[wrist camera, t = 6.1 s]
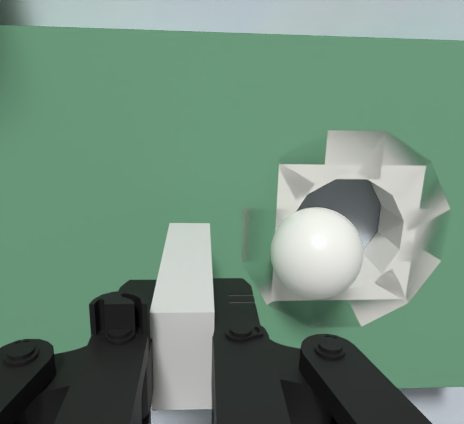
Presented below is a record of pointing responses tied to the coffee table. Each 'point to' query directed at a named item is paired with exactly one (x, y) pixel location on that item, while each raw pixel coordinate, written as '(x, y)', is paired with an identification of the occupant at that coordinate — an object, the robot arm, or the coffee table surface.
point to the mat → (233, 177)
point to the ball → (316, 253)
